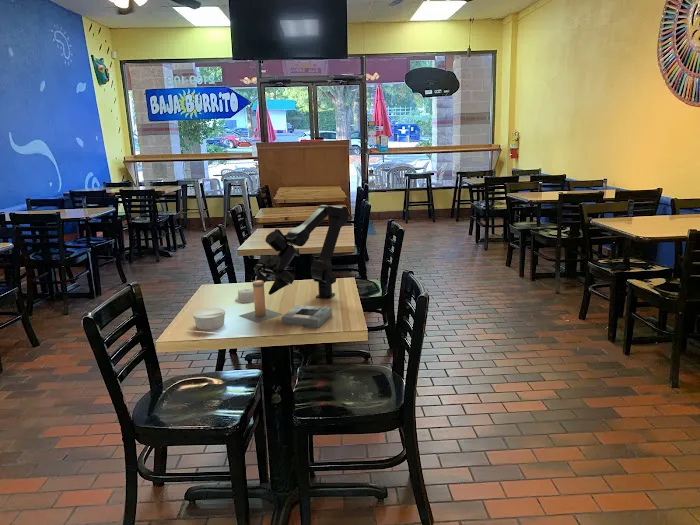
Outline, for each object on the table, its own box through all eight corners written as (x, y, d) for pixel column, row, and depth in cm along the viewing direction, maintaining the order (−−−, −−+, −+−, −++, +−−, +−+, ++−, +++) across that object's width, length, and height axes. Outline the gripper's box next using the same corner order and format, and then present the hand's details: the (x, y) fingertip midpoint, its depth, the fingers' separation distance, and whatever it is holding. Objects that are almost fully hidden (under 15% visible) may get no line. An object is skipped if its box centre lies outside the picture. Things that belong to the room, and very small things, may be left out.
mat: (264, 309, 209) (264, 308, 209) (283, 315, 201) (283, 314, 201) (238, 317, 201) (238, 315, 201) (257, 323, 193) (257, 322, 193)
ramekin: (209, 334, 185) (208, 319, 183) (187, 328, 191) (186, 314, 189) (232, 324, 194) (231, 310, 192) (211, 319, 200) (210, 306, 198)
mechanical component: (253, 304, 217) (263, 297, 226) (252, 294, 216) (263, 287, 225) (231, 303, 219) (242, 296, 229) (230, 293, 218) (241, 286, 228)
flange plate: (297, 312, 204) (296, 304, 203) (331, 315, 200) (331, 307, 199) (282, 324, 191) (281, 316, 190) (318, 327, 187) (318, 319, 186)
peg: (258, 313, 204) (255, 280, 201) (268, 313, 202) (265, 280, 199) (253, 316, 200) (250, 282, 197) (263, 317, 198) (260, 283, 196)
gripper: (256, 243, 206) (233, 276, 201) (286, 249, 194) (263, 284, 188) (273, 259, 214) (252, 292, 208) (303, 266, 201) (282, 301, 195)
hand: (261, 292), depth 200 cm, fingers open, 9 cm apart
